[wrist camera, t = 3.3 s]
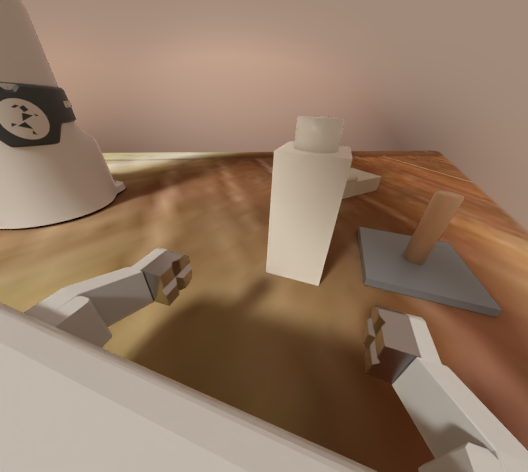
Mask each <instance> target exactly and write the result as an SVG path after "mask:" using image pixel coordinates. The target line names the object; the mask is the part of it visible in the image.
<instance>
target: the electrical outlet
mask: <svg viewBox="0 0 528 472" xmlns="http://www.w3.org/2000/svg"><path fill="white" fill-rule="evenodd" d="M380 180H381V176H378V175H375V174H371V173H368V172H364V171H361V170H358V169H354V168H350V170H349V174H348V178H347V182H346V185H345V189H344V193H343V197H342V199H344V198H348V197H352V196H356V195H360V194H364V193H368V192H372V191H376V190H377V188H378V185H379V183H380Z"/></svg>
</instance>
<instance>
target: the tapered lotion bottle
mask: <svg viewBox="0 0 528 472" xmlns="http://www.w3.org/2000/svg"><path fill="white" fill-rule="evenodd" d="M344 122H345V119H342V118H332V117H318V116H298V117H297V126H296V135H295V142H293V141H290V142H288V143H286V144H284V145H283V146H281V147H280V148H278V149H276V150H275V151H274V159H273V174H272V190H271V205H270V220H269V235H268V251H267V266H266V272H267V273H270V274H274V275H278V276H282V277H286V278H290V279H294V280H297V281H301V282H305V283H309V284H313V285H317V286H319V283H320V279H321V275H322V271H323V268H324V264H325V260H326V256H327V253H328V249H329V245H330V241H331V238H332V234H333V230H334V226H335V223H336V219H337V215H338V212H339V208H340V204H341V200H342V197H343V193H344V189H345V185H346V182H347V178H348V174H349V170H350V167H351V163H352V154H351V149H350V147H346V146H339V144H340V140H341V136H342V131H343V127H344Z"/></svg>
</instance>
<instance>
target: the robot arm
mask: <svg viewBox="0 0 528 472" xmlns="http://www.w3.org/2000/svg"><path fill="white" fill-rule="evenodd" d="M71 107H72V105H71V103H70V101H68V99H67V96H66V94H65V92H64V90H63V89H62V88H58V85H57V83H56V80H55V78H54V75H53V73H52V71H51V68H50V65H49V63H48V61H47V58H46V56H45V53H44V51H43V48H42V46H41V44H40V41H39V39H38V36H37V34H36V31H35V29H34V26H33V24H32V21H31V19H30V17H29V14H28V12H27V9H26V8H25V6H24V4H23V3H22V1H21V0H0V229H18V228H29V227H36V226H43V225H48V224H53V223H58V222H62V221H66V220H70V219H74V218H77V217H80V216H83V215H86V214H89V213H92V212H94V211H97V210H99V209H101V208H103V207H105V206H106V205H108V204H109V203H111V202H112V201H113V200H114V199H115V197H116V195H117V194H118V193H119V192H121V191H122V190H124V189H125V188H126V187H125V185H124V183H123V182H121V181H117V180H113V178H112V175H111V173H110V171H109V168H108V166H107V164H106V162H105V159H104V157H103V155H102V153H101V150H100V148H99V146H98V144H97V142H96V140H95V138H94V137H92V136H90V135H89V134H87V133H85V132H84V131H82V130H81V129H80V128H79V127H78V126H77V125H76V124H75V123H74V121H75V120H76V118H75V115H74V113H73V110H72V108H71ZM189 263H190V260H189V256H187V255H184V254H181V253H177V252H174V251H171V250H167V249H163V248H156V249H155V250H154V251H152V252H151V253H150V254H148V255H147V256H146V257H144V258H143V259H141V260H140V261H139V262H137V263H136V264H135V265H133V266H132V267H131V268H129V267H126V268H123V269H120V270H117V271H114V272H110V273H107V274H104V275H101V276H98V277H95V278H91V279H88V280H85V281H82V282H79V283H76V284H72V285H69V286H66V287H63V288H62V289H60V290H58V291H57V292H55V293H54V294H52V295H51V296H49V297H47V298H46V299H44V300H43V301H41V302H40V303H38V304H36V305H35V306H33V307H32V308H30V309H29V310H27V311H26V312H24V313H23V312H21V311H19V310H16V309H14V308H12V307H10V306H7V305H5V304H3V303H1V302H0V472H378V471H376V470H373V469H371V468H369V467H367V466H365V465H362V464H360V463H358V462H356V461H353V460H351V459H349V458H347V457H344V456H342V455H340V454H338V453H336V452H333V451H331V450H329V449H327V448H324V447H322V446H320V445H318V444H315V443H313V442H311V441H309V440H306V439H304V438H302V437H300V436H298V435H295V434H293V433H291V432H289V431H286V430H284V429H282V428H280V427H277V426H275V425H273V424H271V423H269V422H266V421H264V420H262V419H260V418H257V417H255V416H253V415H251V414H248V413H246V412H244V411H242V410H240V409H237V408H235V407H233V406H231V405H228V404H226V403H224V402H222V401H219V400H217V399H215V398H213V397H211V396H208V395H206V394H204V393H202V392H199V391H197V390H195V389H193V388H190V387H188V386H186V385H184V384H182V383H179V382H177V381H175V380H173V379H170V378H168V377H166V376H164V375H161V374H159V373H157V372H155V371H153V370H150V369H148V368H146V367H144V366H141V365H139V364H137V363H135V362H132V361H130V360H128V359H126V358H124V357H121V356H119V355H117V354H115V353H112V352H110V351H108V350H106V349H103V348H102V347H103V346H104V345H105V344H106V343H107V342H108V341H109V340H110V339H111V337H112V334H111V332H110V331H109V329H108V328H107V327H109V326H110V325H112V324H114V323H116V322H118V321H120V320H121V319H123V318H125V317H127V316H129V315H131V314H133V313H134V312H136V311H138V310H140V309H142V308H144V307H145V306H147V305H149V304H151V303H153V302H154V301H155V302H159V303H162V304H165V305H168V306H170V305H171V304H172V303H173V301H174V300H175V299H176V298H177V297H178V296H179V291H180V290H182V289H184V288H186V287H187V285H188V284H189V283H190V280H191V278H192V269H191V268H190V267H189V265H188V264H189ZM371 316H372V318H370V319H367V321H366V323H365V326H364V330H363V344H364V345H365V347H366V348H367V352H366V353H365V355H364V357H365V368H366V374H367V375H370V376H373V377H375V378H378V379H381V380H383V381H386V382H389V383H391V384H392V386H393V388H394V389H395V391H396V393H397V395H398V396H399V398H400V400H401V401H402V403H403V405H404V407H405V408H406V410H407V412H408V413H409V415H410V417H411V418H412V420H413V422H414V424H415V425H416V427H417V429H418V430H419V432H420V434H421V436H422V437H423V439H424V441H425V442H426V444H427V446H428V448H429V449H430V451H431V453H432V454H433V456H434V458H435V459H433V460H431V461H429V462H427V463H425V464H423V465H421V466H420V467H419V468H418V471H419V472H528V451H527V450H526V448H525V447H524V446H523V445H522V444H521V443H520V442H519V441H518V440H517V439H516V438H515V437H514V436H513V435H512V434H511V433H510V432H509V431H508V430H507V428H506V427H505V426H504V425H503V424H502V423H501V422H500V421H499V420H498V419H497V418H496V417H495V416H494V415H493V414H492V413H491V412H490V411H489V410H488V409H487V407H486V406H485V405H484V404H483V403H482V402H481V401H480V400H479V399H478V398H477V397H476V396H475V395H474V394H473V393H472V392H471V391H470V390H469V389H468V387H467V386H466V385H465V384H464V383H463V382H462V381H461V380H460V379H459V378H458V377H457V376H456V375H455V374H454V373H453V372H452V371H451V370H450V369H449V367H448V366H445V365H442V363H441V361H440V358H439V356H438V353H437V351H436V348H435V345H434V343H433V340H432V338H431V335H430V333H429V330H428V328H427V325H426V323H425V320H424V319H423V318H421V317H417V316H413V315H409V314H404V313H401V312H397V311H394V310H390V309H386V308H382V307H378V306H375V307H374V308H373V309H372V311H371Z"/></svg>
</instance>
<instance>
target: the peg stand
mask: <svg viewBox="0 0 528 472" xmlns="http://www.w3.org/2000/svg"><path fill="white" fill-rule="evenodd" d="M463 200H464V196H462V195H460V194H457V193H454V192H449V191H443V190H438V191H435V193H434V195H433V197H432V199H431V201H430V203H429V205H428V207H427V209H426V211H425V213H424V214H423V216H422V218H421V220H420V222H419V224H418V226H417V228H416V230H415V232H414V234H413V235H412V236H409V235H403V234H398V233H392V232H387V231H381V230H376V229H370V228H365V227H359V229H358V239H359V248H360V256H361V265H362V273H363V282H364V285H368V286H372V287H376V288H380V289H384V290H388V291H392V292H396V293H400V294H404V295H408V296H412V297H416V298H421V299H425V300H429V301H433V302H437V303H441V304H445V305H449V306H453V307H457V308H461V309H465V310H469V311H473V312H478V313H482V314H486V315H490V316H494V317H497V316H498V315H499V314H500V313H501V312H502V311H503V310H502V309H501V308H500V307H499V305H498V304H497V303H496V302H495V300H494V299H493V298H492V296H491V295H490V294H489V293H488V291H487V290H486V289H485V288H484V286H483V285H482V284H481V282H480V281H479V280H478V279H477V277H476V276H475V275H474V274H473V272H472V271H471V270H470V269H469V267H468V266H467V265H466V263H465V262H464V261H463V260H462V258H461V257H460V256H459V255H458V253H457V252H456V251H455V250H454V248H453V247H452V246H451V244H450V243H447V242H441V241H438V240H439V239H440V237H441V235H442V234H443V232H444V231H445V229H446V227H447V226H448V224H449V222H450V221H451V219H452V218H453V216H454V214H455V213H456V211H457V209H458V208H459V206H460V205H461V203H462V201H463Z"/></svg>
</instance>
